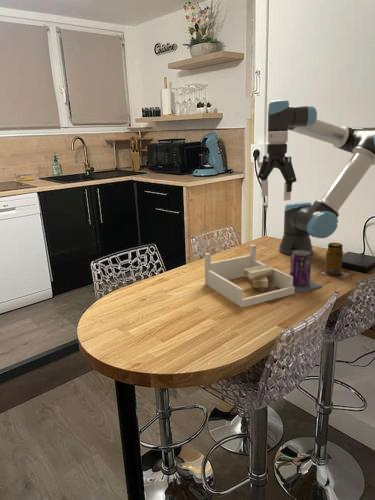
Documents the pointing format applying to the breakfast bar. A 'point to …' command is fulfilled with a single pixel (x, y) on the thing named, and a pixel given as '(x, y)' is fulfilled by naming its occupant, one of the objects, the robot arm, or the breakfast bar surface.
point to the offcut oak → (260, 282)
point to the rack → (233, 268)
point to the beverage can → (300, 267)
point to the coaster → (306, 287)
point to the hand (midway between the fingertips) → (275, 198)
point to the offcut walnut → (265, 289)
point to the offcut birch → (258, 271)
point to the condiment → (334, 261)
